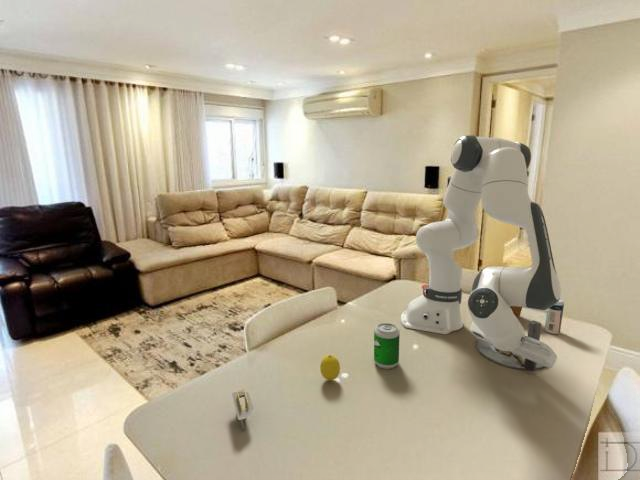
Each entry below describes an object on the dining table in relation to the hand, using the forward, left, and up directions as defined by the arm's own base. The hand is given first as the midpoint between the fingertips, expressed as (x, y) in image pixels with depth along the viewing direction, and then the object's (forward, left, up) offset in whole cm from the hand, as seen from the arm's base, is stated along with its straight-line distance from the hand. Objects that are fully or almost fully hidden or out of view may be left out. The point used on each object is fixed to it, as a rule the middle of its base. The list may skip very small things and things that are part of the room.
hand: (520, 354), depth 102 cm
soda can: (-36, +2, -8) cm, 37 cm away
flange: (+3, +17, -8) cm, 19 cm away
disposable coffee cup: (+9, +45, -8) cm, 46 cm away
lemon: (-51, -10, -8) cm, 53 cm away
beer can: (+20, +34, -8) cm, 40 cm away
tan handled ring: (+3, +13, -7) cm, 15 cm away
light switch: (-69, -30, -9) cm, 76 cm away
